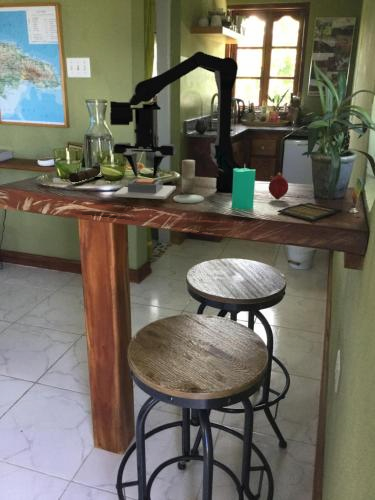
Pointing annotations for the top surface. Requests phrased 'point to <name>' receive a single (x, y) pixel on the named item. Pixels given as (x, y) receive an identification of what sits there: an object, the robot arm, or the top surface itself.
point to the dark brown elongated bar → (84, 174)
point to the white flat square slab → (145, 190)
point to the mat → (188, 198)
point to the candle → (243, 188)
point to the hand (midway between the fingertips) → (145, 177)
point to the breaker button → (146, 181)
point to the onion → (278, 186)
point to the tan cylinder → (188, 176)
